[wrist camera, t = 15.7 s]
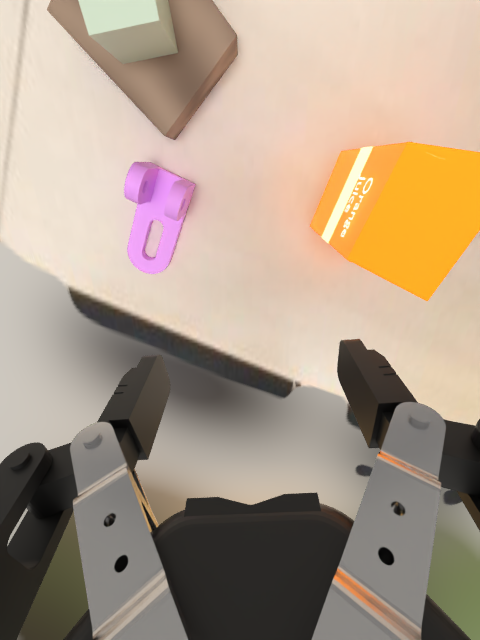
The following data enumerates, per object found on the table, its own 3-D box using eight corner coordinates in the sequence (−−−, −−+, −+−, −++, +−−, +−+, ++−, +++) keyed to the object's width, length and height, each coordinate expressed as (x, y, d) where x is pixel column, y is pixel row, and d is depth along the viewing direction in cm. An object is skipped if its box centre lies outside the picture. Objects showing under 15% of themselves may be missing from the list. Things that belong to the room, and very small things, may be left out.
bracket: (150, 162, 31) (129, 161, 25) (195, 184, 32) (185, 188, 26) (127, 260, 37) (105, 279, 31) (165, 276, 38) (151, 296, 32)
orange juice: (399, 172, 32) (589, 181, 14) (361, 243, 36) (472, 317, 19) (339, 149, 31) (469, 130, 13) (307, 226, 35) (374, 287, 18)
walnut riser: (137, -82, 23) (112, -140, 18) (237, 56, 27) (236, 35, 22) (78, 35, 26) (46, 9, 22) (175, 140, 30) (164, 136, 26)
